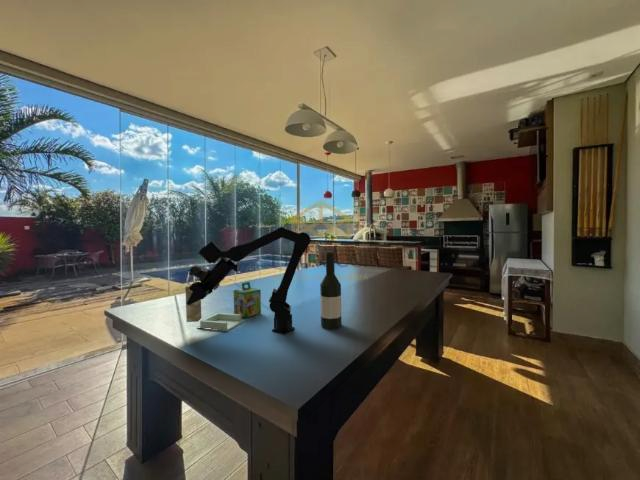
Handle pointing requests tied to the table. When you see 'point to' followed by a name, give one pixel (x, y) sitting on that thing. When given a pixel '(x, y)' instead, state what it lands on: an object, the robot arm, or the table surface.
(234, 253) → the robot arm
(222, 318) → the tray
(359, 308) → the table surface
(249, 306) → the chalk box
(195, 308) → the post
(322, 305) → the wine bottle
